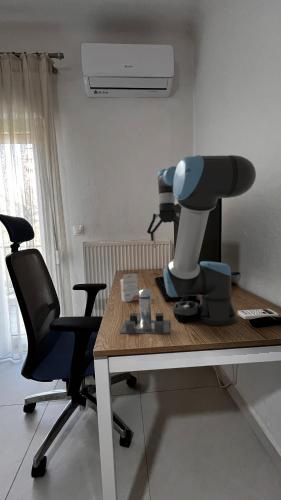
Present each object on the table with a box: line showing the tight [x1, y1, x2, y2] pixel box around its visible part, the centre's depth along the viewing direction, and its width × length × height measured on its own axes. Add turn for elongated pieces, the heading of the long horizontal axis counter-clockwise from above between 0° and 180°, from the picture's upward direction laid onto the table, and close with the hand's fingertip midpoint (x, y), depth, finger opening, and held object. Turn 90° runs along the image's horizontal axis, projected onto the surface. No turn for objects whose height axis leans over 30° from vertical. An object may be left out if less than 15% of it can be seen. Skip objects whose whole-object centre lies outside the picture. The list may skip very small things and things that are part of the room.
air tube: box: [138, 288, 152, 328], centre depth 93 cm, size 4×4×14 cm
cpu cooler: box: [172, 300, 200, 324], centre depth 100 cm, size 10×6×10 cm
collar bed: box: [119, 312, 171, 335], centre depth 93 cm, size 18×12×3 cm, turn 84°
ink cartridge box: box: [120, 272, 139, 303], centre depth 132 cm, size 9×5×15 cm, turn 112°
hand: (168, 247), depth 118 cm, fingers open, 13 cm apart
